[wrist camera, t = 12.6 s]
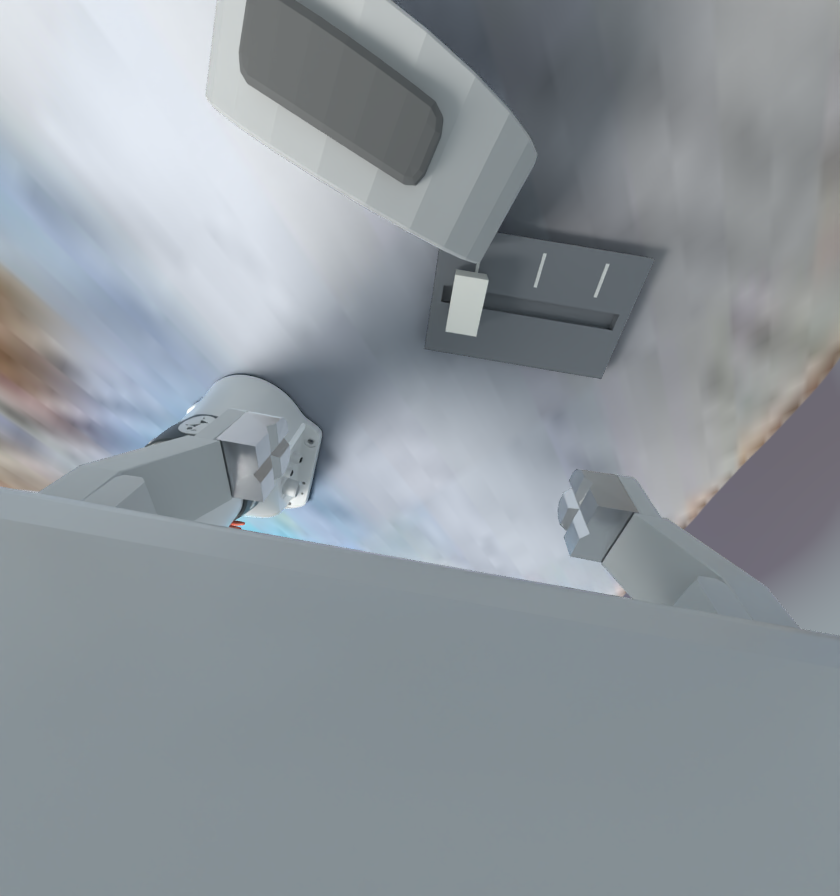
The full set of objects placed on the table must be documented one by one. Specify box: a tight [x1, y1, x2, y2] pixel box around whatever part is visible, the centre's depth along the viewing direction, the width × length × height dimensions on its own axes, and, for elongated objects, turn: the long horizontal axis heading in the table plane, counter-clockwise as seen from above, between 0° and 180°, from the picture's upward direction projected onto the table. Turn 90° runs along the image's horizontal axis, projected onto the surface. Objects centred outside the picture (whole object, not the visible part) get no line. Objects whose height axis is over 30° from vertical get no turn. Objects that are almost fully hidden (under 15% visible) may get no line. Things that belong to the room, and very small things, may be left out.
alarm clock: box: [206, 0, 537, 264], centre depth 24 cm, size 21×8×20 cm, turn 62°
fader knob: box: [445, 269, 489, 337], centre depth 35 cm, size 5×3×5 cm, turn 172°
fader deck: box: [425, 232, 655, 379], centre depth 37 cm, size 12×20×2 cm, turn 82°
